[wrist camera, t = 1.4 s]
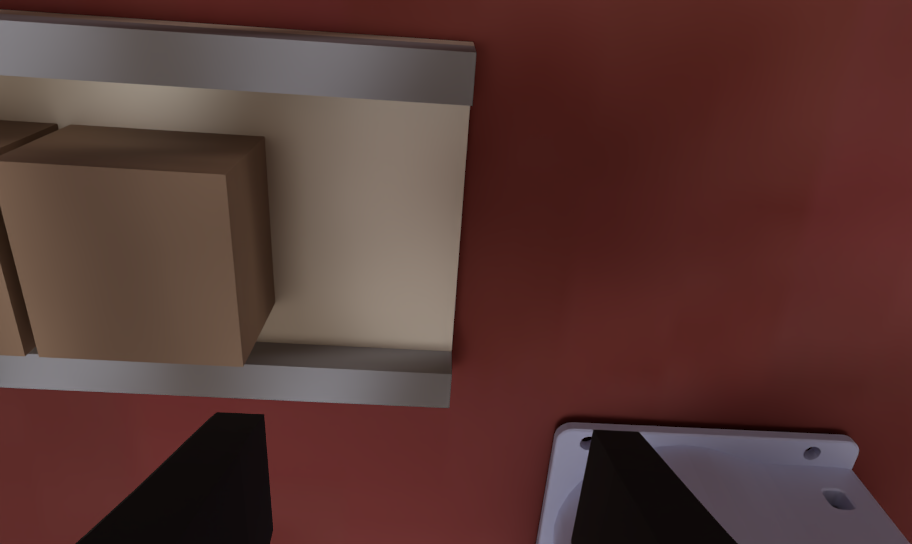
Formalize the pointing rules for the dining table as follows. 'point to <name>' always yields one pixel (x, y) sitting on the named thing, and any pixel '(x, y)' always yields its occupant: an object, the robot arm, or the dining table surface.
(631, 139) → the dining table surface
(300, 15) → the dining table surface
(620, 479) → the robot arm
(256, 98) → the slot board
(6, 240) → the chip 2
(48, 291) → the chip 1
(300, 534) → the dining table surface
